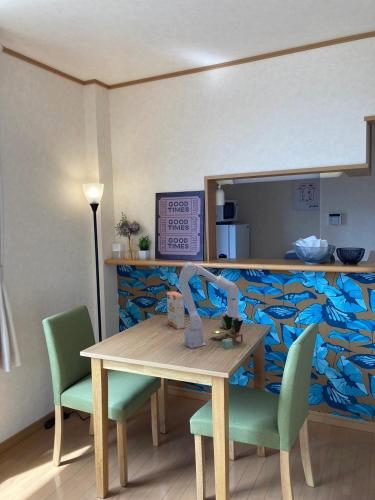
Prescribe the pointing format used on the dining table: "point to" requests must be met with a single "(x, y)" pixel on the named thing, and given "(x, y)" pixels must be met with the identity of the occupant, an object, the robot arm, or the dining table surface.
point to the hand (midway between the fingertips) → (233, 330)
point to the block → (227, 343)
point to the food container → (225, 323)
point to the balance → (218, 331)
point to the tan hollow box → (234, 335)
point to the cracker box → (175, 310)
